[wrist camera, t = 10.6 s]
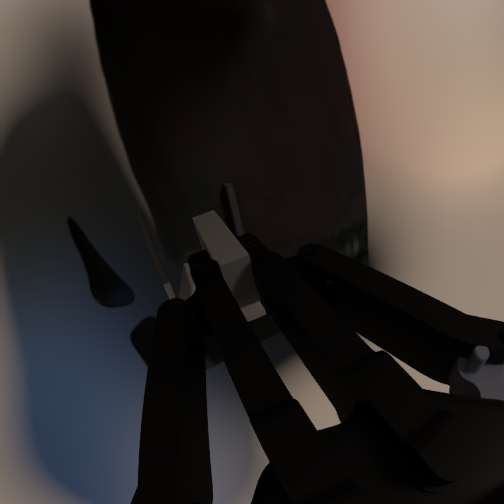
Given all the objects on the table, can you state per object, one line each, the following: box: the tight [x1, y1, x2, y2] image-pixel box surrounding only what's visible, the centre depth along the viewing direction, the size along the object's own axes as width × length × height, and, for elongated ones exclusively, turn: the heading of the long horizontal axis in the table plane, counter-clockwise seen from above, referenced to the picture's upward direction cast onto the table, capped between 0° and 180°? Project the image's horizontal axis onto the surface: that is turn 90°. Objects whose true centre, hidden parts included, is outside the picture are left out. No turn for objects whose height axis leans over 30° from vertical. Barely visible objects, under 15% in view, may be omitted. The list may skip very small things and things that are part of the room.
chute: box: [136, 183, 266, 322], centre depth 43 cm, size 24×15×4 cm, turn 13°
